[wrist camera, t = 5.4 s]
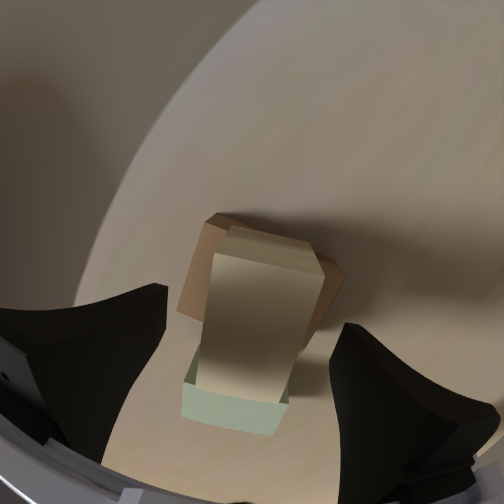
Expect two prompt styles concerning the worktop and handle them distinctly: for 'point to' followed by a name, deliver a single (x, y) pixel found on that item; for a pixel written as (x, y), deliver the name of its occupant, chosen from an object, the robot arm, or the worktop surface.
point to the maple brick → (256, 313)
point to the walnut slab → (201, 268)
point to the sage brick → (230, 407)
